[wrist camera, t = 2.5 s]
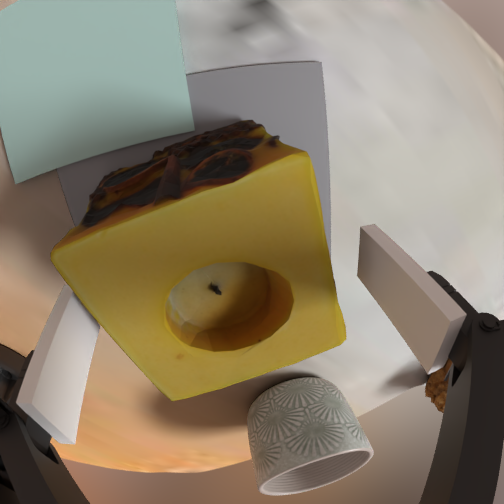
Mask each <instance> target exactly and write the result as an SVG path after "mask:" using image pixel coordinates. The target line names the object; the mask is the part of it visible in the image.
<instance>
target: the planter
mask: <svg viewBox="0 0 504 504" xmlns="http://www.w3.org/2000/svg"><path fill="white" fill-rule="evenodd" d="M247 427H248V438H249V445H250V451H251V456H252V462H253V467H254V472H255V477H256V482H257V487H258V490H259V491H260V492H261V493H263V494H267V495H287V494H294V493H300V492H305V491H309V490H312V489H316V488H319V487H322V486H325V485H328V484H330V483H333V482H335V481H337V480H340V479H342V478H344V477H346V476H348V475H350V474H351V473H353V472H355V471H356V470H358V469H359V468H361V467H362V466H364V465H365V464H366V463H367V462H368V461H369V460H370V459H371V458H372V456H373V453H374V451H373V449H372V447H371V445H370V443H369V441H368V439H367V437H366V435H365V433H364V431H363V429H362V428H361V426H360V424H359V422H358V420H357V418H356V416H355V414H354V412H353V411H352V409H351V407H350V405H349V404H348V402H347V400H346V399H345V397H344V396H343V394H342V393H341V392H340V390H339V389H338V388H337V387H336V386H335V385H334V384H332V383H331V382H329V381H327V380H324V379H321V378H314V377H305V378H297V379H292V380H289V381H285V382H283V383H280V384H278V385H275V386H273V387H271V388H270V389H268V390H266V391H265V392H263V393H262V394H261V395H260V396H259V397H258V398H257V399H256V400H255V401H254V402H253V403H252V405H251V407H250V409H249V412H248V418H247Z"/></svg>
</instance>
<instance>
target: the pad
mask: <svg viewBox="0 0 504 504" xmlns="http://www.w3.org/2000/svg"><path fill="white" fill-rule="evenodd" d="M0 128H1V132H2V137H3V141H4V145H5V149H6V153H7V157H8V161H9V164H10V168H11V171H12V174H13V178H14V181H15V184H18V183H20V182H23V181H25V180H28V179H30V178H33V177H35V176H38V175H40V174H43V173H46V172H48V171H51V170H54V169H57V168H59V167H62V166H65V165H68V164H71V163H74V162H77V161H80V160H83V159H86V158H89V157H92V156H96V155H99V154H102V153H105V152H109V151H112V150H116V149H119V148H123V147H127V146H130V145H134V144H138V143H142V142H146V141H150V140H154V139H158V138H162V137H167V136H171V135H176V134H180V133H185V132H190V131H195V128H194V122H193V116H192V110H191V104H190V98H189V92H188V86H187V80H186V73H185V67H184V60H183V54H182V47H181V40H180V33H179V26H178V19H177V12H176V4H175V0H18V1H17V2H15V3H13V4H11V5H10V6H8V7H6V8H5V9H3V10H1V11H0Z"/></svg>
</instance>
